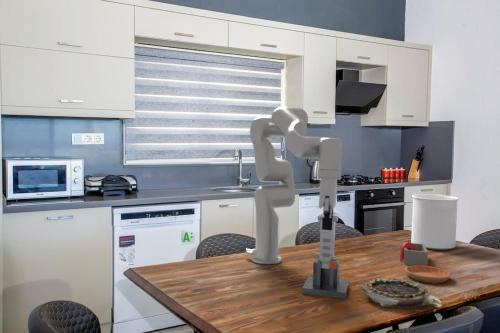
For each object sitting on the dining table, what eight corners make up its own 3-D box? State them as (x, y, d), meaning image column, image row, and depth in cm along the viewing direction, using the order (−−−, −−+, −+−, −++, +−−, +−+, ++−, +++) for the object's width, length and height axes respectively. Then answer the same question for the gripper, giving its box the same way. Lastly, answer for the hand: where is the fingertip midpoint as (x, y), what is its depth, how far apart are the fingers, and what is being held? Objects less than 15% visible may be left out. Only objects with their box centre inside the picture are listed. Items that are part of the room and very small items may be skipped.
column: (316, 268, 156) (317, 217, 155) (317, 264, 161) (319, 214, 160) (335, 269, 154) (337, 218, 153) (336, 265, 159) (338, 216, 158)
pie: (460, 311, 141) (460, 295, 141) (381, 321, 134) (381, 304, 133) (404, 283, 168) (404, 270, 168) (336, 290, 160) (336, 276, 160)
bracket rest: (404, 264, 193) (404, 250, 193) (402, 255, 208) (402, 242, 208) (427, 266, 191) (427, 252, 190) (423, 257, 206) (424, 243, 206)
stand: (302, 293, 153) (303, 260, 153) (308, 281, 167) (309, 250, 166) (345, 298, 150) (346, 264, 149) (348, 285, 163) (349, 254, 162)
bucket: (466, 252, 216) (469, 200, 215) (419, 251, 217) (422, 199, 215) (444, 240, 242) (446, 194, 241) (402, 239, 242) (404, 193, 241)
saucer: (448, 275, 180) (449, 267, 180) (452, 287, 165) (452, 279, 164) (405, 270, 185) (405, 263, 185) (404, 282, 170) (405, 274, 170)
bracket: (408, 263, 195) (409, 244, 194) (399, 260, 198) (401, 242, 198) (427, 260, 201) (428, 242, 200) (418, 258, 205) (420, 240, 204)
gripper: (321, 172, 165) (319, 223, 166) (314, 175, 149) (313, 232, 150) (342, 173, 163) (341, 224, 164) (338, 176, 147) (336, 234, 148)
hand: (327, 227), depth 157 cm, fingers closed on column, 4 cm apart
